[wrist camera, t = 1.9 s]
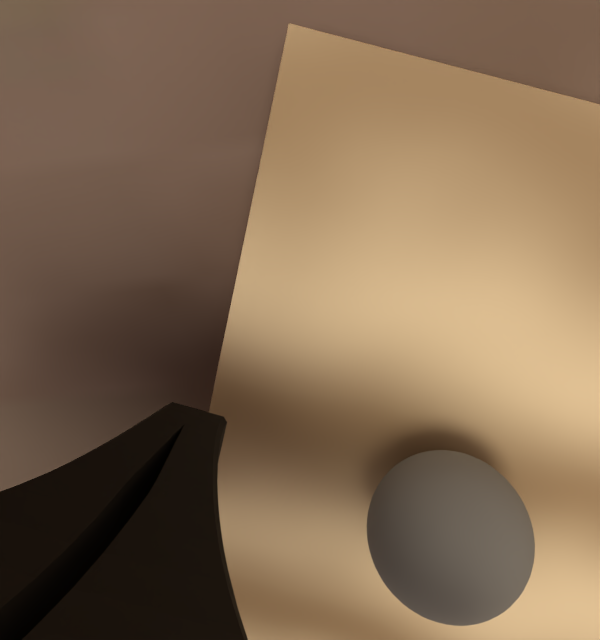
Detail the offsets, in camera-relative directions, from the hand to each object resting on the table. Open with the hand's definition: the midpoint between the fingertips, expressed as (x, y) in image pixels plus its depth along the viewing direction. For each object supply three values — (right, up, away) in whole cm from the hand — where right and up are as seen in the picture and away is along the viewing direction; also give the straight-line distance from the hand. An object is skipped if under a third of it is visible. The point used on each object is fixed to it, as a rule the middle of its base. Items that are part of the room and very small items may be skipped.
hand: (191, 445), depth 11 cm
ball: (+6, -2, 0) cm, 6 cm away
